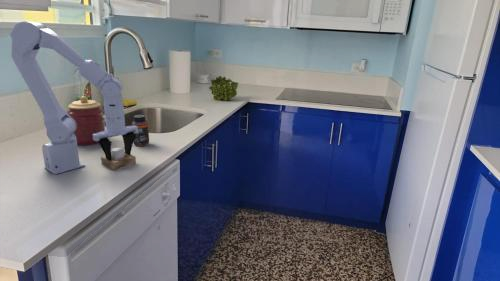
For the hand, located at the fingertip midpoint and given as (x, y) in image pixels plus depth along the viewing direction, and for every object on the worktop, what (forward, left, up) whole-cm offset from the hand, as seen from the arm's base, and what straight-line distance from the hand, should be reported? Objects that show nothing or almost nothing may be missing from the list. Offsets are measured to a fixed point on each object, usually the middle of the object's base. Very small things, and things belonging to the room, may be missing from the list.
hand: (118, 156), depth 113 cm
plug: (0, 0, -3) cm, 3 cm away
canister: (+4, +30, -3) cm, 31 cm away
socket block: (0, 0, -3) cm, 3 cm away
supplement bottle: (+16, +12, -3) cm, 21 cm away
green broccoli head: (+101, +52, -3) cm, 113 cm away
